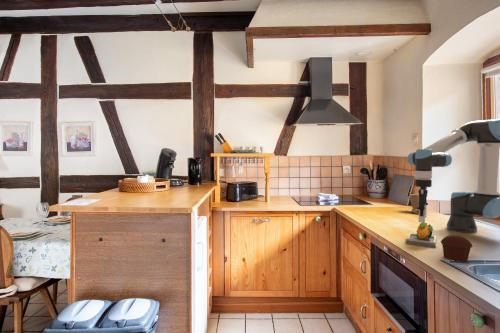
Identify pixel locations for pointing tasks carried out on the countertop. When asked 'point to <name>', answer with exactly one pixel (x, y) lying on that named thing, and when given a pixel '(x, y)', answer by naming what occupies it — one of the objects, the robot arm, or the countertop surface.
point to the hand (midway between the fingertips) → (422, 219)
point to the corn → (424, 231)
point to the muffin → (456, 248)
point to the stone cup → (414, 202)
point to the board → (421, 240)
